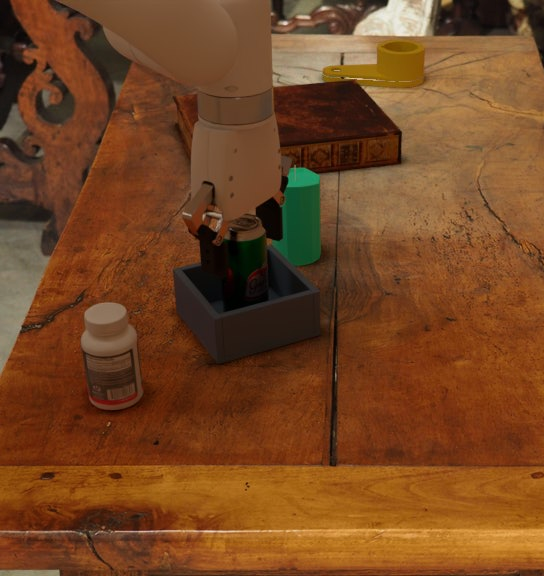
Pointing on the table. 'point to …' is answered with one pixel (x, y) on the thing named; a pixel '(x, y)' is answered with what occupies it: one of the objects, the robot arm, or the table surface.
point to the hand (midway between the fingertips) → (243, 255)
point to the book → (320, 126)
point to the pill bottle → (111, 357)
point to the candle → (301, 218)
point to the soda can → (245, 264)
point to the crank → (386, 66)
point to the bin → (248, 310)
